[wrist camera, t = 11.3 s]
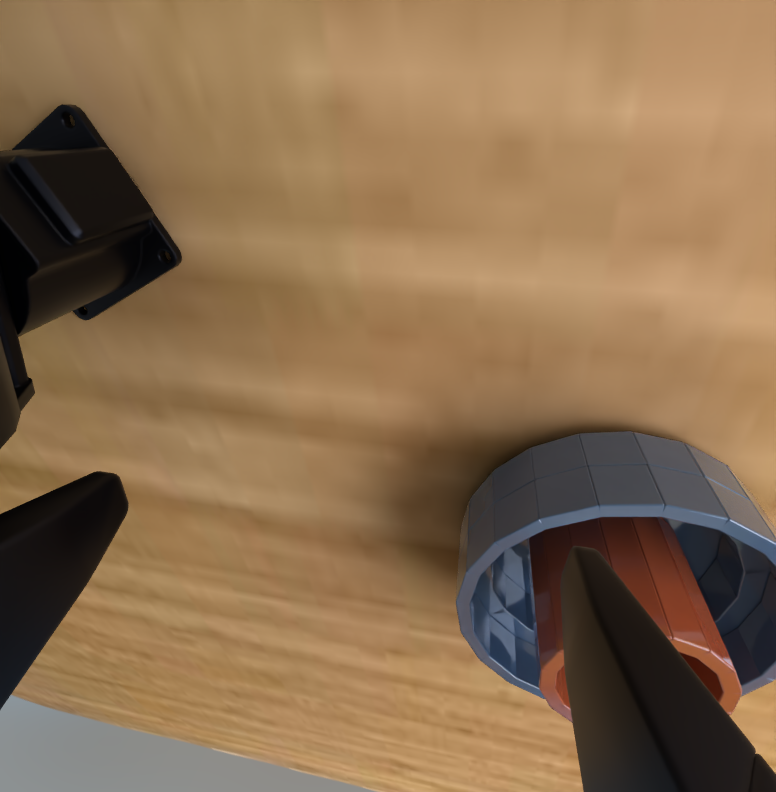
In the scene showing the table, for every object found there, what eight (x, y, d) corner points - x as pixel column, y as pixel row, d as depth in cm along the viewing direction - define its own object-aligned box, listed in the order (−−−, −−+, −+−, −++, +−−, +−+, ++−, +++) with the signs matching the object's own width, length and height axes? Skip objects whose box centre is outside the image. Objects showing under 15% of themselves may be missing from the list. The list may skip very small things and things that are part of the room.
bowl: (516, 633, 29) (521, 723, 24) (419, 471, 24) (404, 550, 19) (774, 597, 24) (836, 703, 19) (720, 381, 19) (788, 461, 14)
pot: (552, 597, 26) (572, 743, 20) (507, 510, 23) (513, 648, 17) (688, 574, 23) (757, 734, 17) (653, 474, 21) (720, 621, 15)
